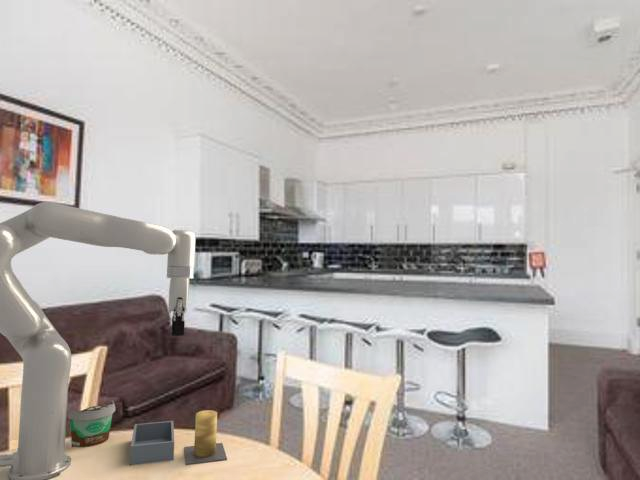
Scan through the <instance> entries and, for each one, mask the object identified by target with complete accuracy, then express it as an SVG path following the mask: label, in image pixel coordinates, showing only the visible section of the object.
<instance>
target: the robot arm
mask: <svg viewBox="0 0 640 480" xmlns="http://www.w3.org/2000/svg"><path fill="white" fill-rule="evenodd" d="M49 238H53V239H58V240H65V241H70V242H74V243H81V244H85V245H89V246H94V247H95V246H96V247H103V248H123V249H131V250H135V251H142V252H143V253H145V254H148V255H167V265H166V278H167V279H170V280H169V287H168V289H169V290H168V291H169V292H168V306H167V307H168V311H167V312H168V313H169V314H171V313H172V316H171V336H173V337H177V336H180V337H181V336H184V335H185V325H186V324H185V322H186V321H185V314H186V313H187V312H188V311H187V309H188V302H189V295H190V294H189V293H190V292H189V291H190V279H194V278H195V262H196V261H195V260H196V259H195V258H196V257H195V256H196V244H197V243H196V240H197V235H196V234H195V231H192V230H188V229H187V230H185V229H175V230H174V229H173V230H171V228H169V227H166V226H162V225H157V224H153V223H150V222H146V221H142V220H141V221H140V220H135V219H131V218H127V217H120V216H118V215H117V216H116V215H111V214H106V213H103V212H97V211H94V210H93V211H92V210H89V209H84V208H80V207H75V206H71V205H66V204H63V203H62V204H61V203H57V202H51V201H42V202H39V203H36V205H34V206H33V207H31V208H29V209H28V210H26V211H23V212H21V213H20V214H18V215H15V216H13V217H11V218H8V219H7V220H4V221H2V222H0V334H1V335H3V336H4V337H5V338H6V340H8V341H9V343H10V344H11V346H12V347H13V348H14V349H15V351H16V352H17V353H18V354H19V356H20V357H21V359H22V364H23V365H22V366H23V371H22V380H21V381H22V382H21V391H20V393H21V394H20V407H19V408H20V409H19V424H18V425H19V426H18V427H19V428H18V443H17V452H16V451H14V452H13V453H12V454H11V453H10V454H0V468H4V467H9V469H8V472H7V474H8V475H7V477H8V479H10V480H47V479H50V478H54V477H56V476H58V475H60V474H61V473H63V472H64V471H66V470H67V469H68V468H69V467H70V466H71V464H72V458H71V456H70V455H68V454H65V447H66V430H67V429H66V428H67V416H68V415H67V410H68V394H69V393H68V392H69V380H70V379H69V378H70V374H71V368H72V367H71V366H72V351H71V348H70V346H69V345H68V343H67V342H66V340H65V339H64V338H63V337H62V336H61V335H60V333H59V332H58V331H57V329H56V327H54V325H53V324H52V323H51V321H50V320H49V318H48V317H47V315H45V313H44V312H43V310H42V307H41V306H40V305H39V304H38V303H37V302H36V301H35V300H34V299H33V298H32V297H31V296H30V295H29V293H28V292H27V290H26V289H25V288H24V286H23V285H22V283H21V282H20V279H19V278H18V277H17V276H16V274H15V273H14V271H13V268H12V259H13V258H15V256H17V255H18V254H20V253H23V252H24V251H26V250H27V249H28V250H29V249H30V248H33V247H34V246H36V245H38V244H40V243H42V242H43V241H46V240H48V239H49Z"/></svg>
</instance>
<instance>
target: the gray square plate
mask: <svg viewBox="0 0 640 480" xmlns="http://www.w3.org/2000/svg"><path fill="white" fill-rule="evenodd" d="M184 457H185V466H191V465H201V464H205V463H214V462H222V461H227V460H228V457H227V454H226V451H225V447H224V444H223V442H216V453H215V454H214V455H212V456H210V457H197V456H195V455H194V445H189V446H184Z"/></svg>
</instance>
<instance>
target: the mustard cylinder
mask: <svg viewBox="0 0 640 480" xmlns="http://www.w3.org/2000/svg"><path fill="white" fill-rule="evenodd" d="M194 422H195V427H194V445H193V446H194V455H195V456H197V457H210V456H212V455H214V454H215V453H216V443H217V432H218V431H217V429H218V412H217V411H216V410H212V409H211V410H210V409H209V410H208V409H206V410H200V411H198V412H196V413H195V421H194Z"/></svg>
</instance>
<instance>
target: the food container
mask: <svg viewBox="0 0 640 480" xmlns="http://www.w3.org/2000/svg"><path fill="white" fill-rule="evenodd" d="M115 412H116V405H115V402H114V400H112V399H111V401H110V403H107V404H103V405H94V406H89V407H87V408H85V409H82V410H78V411H76V410H72V409H70V410H69V412H68V415H67V419H69V420H70V421H69V422H70V439H71V440H70V442H71V443H70V444H71V447H72V448H74V447H77V448H89V447H96V446H99V445H100V444H103V443H106V442H107V441H108V440H109V438H110V431H111V426H112V420H113V414H114V413H115Z"/></svg>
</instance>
